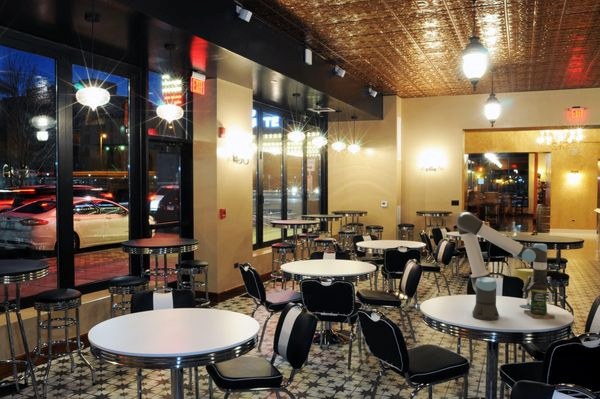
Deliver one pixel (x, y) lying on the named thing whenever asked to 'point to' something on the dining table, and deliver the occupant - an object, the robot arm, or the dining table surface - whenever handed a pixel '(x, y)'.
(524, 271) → the cocktail glass
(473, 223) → the robot arm
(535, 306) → the coffee jar
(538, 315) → the walnut board
